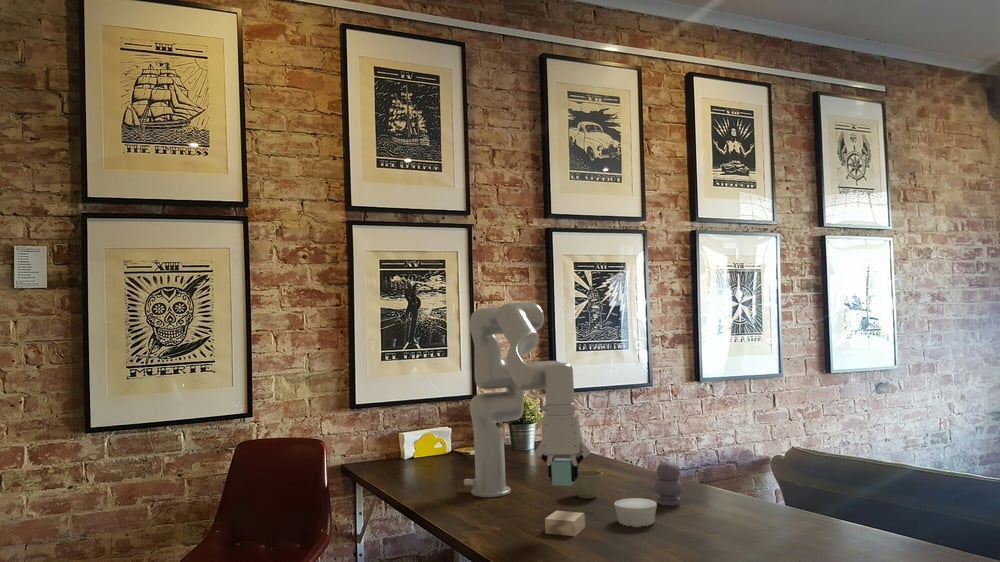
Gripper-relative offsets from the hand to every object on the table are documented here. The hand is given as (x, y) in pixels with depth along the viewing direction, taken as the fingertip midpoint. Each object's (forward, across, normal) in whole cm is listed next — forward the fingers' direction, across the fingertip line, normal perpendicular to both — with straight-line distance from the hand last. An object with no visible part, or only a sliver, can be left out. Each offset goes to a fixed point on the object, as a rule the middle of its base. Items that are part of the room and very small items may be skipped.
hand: (563, 479), depth 193 cm
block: (+1, 0, 0) cm, 1 cm away
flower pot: (+13, -1, +35) cm, 38 cm away
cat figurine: (+13, +24, +31) cm, 41 cm away
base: (+13, 0, 0) cm, 13 cm away
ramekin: (+13, +17, +10) cm, 24 cm away
